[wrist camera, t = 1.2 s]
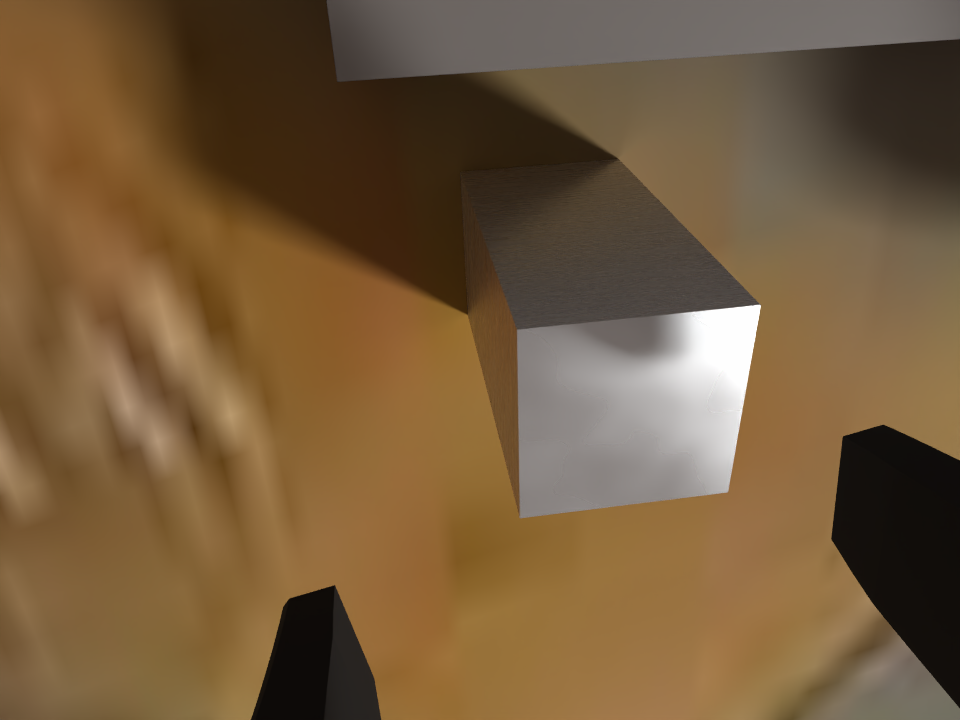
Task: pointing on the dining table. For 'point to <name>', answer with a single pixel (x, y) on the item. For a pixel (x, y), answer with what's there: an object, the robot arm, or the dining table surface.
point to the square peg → (602, 338)
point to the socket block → (608, 31)
